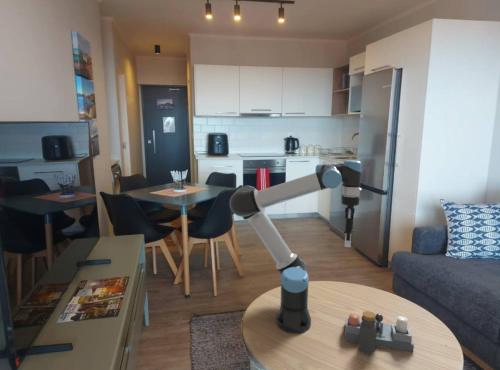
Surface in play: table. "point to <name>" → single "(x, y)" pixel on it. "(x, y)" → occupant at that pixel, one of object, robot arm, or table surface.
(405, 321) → the button ivory
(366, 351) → the bottle
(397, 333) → the panel
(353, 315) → the button terracotta
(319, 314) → the table surface
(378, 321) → the lever
